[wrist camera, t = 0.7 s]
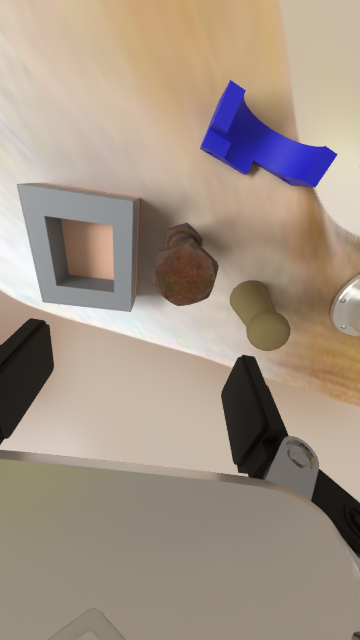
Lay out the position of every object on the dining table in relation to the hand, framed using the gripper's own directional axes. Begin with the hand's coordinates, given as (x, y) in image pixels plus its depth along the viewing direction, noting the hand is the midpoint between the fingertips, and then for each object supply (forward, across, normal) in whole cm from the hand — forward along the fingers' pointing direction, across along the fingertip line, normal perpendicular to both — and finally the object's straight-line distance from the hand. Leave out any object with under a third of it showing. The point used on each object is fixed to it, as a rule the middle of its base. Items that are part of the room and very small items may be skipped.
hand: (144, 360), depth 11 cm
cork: (+24, -14, +6) cm, 29 cm away
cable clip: (+24, -8, -12) cm, 28 cm away
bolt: (+24, -2, -1) cm, 24 cm away
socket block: (+24, +10, +3) cm, 26 cm away
